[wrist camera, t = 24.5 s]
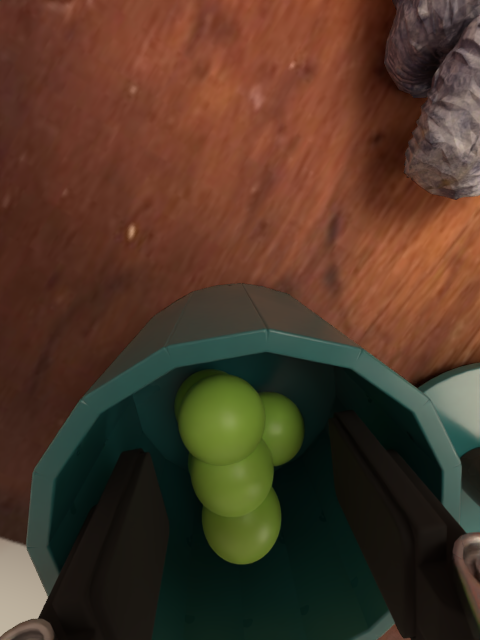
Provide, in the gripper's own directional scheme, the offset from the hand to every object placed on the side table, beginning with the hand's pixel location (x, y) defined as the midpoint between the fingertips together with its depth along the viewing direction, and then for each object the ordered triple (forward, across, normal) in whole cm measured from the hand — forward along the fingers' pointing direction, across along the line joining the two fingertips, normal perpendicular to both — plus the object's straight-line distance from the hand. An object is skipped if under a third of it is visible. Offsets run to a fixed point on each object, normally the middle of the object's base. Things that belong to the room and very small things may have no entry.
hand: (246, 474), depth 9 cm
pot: (+5, 0, 0) cm, 5 cm away
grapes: (+4, 0, 0) cm, 4 cm away
